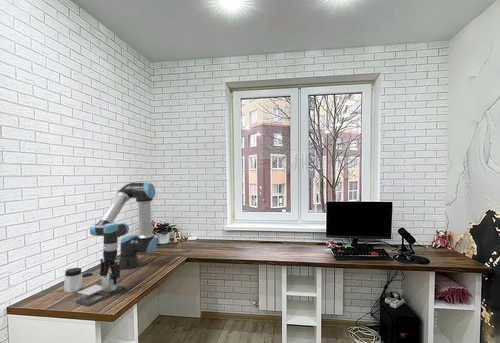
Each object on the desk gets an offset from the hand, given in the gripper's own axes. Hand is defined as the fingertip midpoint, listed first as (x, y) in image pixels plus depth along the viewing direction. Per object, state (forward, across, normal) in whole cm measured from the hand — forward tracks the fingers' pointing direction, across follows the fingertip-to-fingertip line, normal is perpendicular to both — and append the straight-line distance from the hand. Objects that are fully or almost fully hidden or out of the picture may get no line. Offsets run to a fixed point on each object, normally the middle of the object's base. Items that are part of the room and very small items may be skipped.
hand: (109, 288), depth 158 cm
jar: (+2, -23, -6) cm, 24 cm away
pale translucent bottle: (+2, 0, 0) cm, 2 cm away
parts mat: (+2, -12, -2) cm, 12 cm away
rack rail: (+2, 0, -5) cm, 5 cm away
